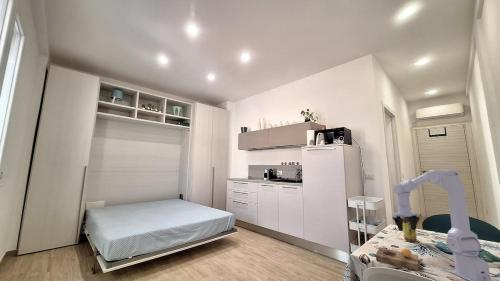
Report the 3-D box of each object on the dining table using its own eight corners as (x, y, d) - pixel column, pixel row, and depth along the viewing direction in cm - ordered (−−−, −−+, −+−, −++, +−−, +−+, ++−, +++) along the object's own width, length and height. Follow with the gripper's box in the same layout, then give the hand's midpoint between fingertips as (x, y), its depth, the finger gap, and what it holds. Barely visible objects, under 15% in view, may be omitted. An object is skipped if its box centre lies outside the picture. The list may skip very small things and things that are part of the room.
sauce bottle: (412, 243, 120) (407, 208, 123) (401, 239, 126) (397, 206, 128) (420, 241, 122) (415, 207, 124) (409, 238, 127) (405, 206, 130)
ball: (414, 258, 94) (413, 249, 95) (406, 259, 94) (405, 250, 95) (407, 255, 98) (406, 246, 99) (399, 255, 98) (398, 246, 99)
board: (418, 260, 98) (417, 254, 98) (418, 270, 89) (417, 264, 89) (379, 252, 108) (379, 247, 108) (376, 260, 99) (375, 255, 99)
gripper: (409, 203, 119) (412, 227, 117) (386, 204, 117) (389, 228, 115) (420, 205, 112) (424, 231, 110) (396, 206, 110) (399, 232, 108)
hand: (407, 230), depth 112 cm, fingers open, 7 cm apart
